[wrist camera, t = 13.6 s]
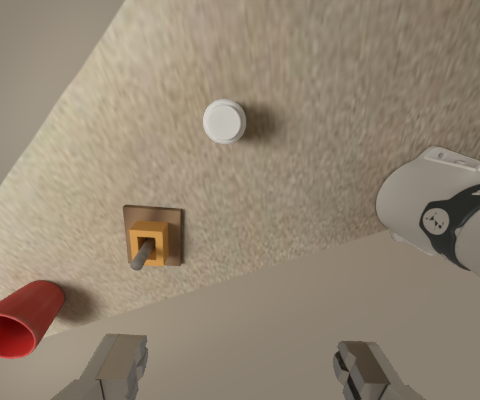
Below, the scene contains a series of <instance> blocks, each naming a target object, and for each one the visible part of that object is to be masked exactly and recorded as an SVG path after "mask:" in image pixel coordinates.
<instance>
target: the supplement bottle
mask: <svg viewBox="0 0 480 400" xmlns="http://www.w3.org/2000/svg"><path fill="white" fill-rule="evenodd" d="M203 126H204V129H205V132H206V134H207V135H208V136H209V138H210V139H212V140H213V141H214V142H216V143H219V144H223V145H227V144H232V143H234V142H236V141H238V140H239V139H240V138H241V137H242V135H243V133H244V131H245V128H246V116H245V113H244V111H243V109H242V108H241V106H240V105H239V104H237V103H236V102H234V101H232V100H229V99H219V100H216V101H214V102H213V103H211V104H210V105H209V106H208V107H207V109H206V111H205V113H204V117H203Z"/></svg>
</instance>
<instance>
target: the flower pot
mask: <svg viewBox="0 0 480 400" xmlns="http://www.w3.org/2000/svg"><path fill="white" fill-rule="evenodd" d="M64 300H65V298H64V293H63V291H62V290H61V289H60V288H59V287H58V286H57V285H55V284H53V283H51V282H47V281H34V282H31V283H29V284H27V285H26V286H24V287H22V288H21V289H19V290H17V291H16V292H14V293H12V294H11V295H9V296H8V297H6V298H4V299H3V300H1V301H0V357H1V358H8V359H14V358H21V357H24V356H27V355H29V354H30V353H31V352H33V350H34V349H35V348H36V347H37V345H38V344H39V342H40V341H41V339H42V338H43V336H44V335H45V333H46V331H47V330H48V328H49V326H50V325H51V323H52V322H53V320H54V318H55V317H56V315H57V313H58V312H59V310H60V308H61V307H62V305H63V303H64Z"/></svg>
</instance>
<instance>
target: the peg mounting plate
mask: <svg viewBox="0 0 480 400" xmlns="http://www.w3.org/2000/svg"><path fill="white" fill-rule="evenodd" d="M123 214H124V224H125V234H126V244H127V254H128V263H131V264H130V266H131V268H132V269H133V270H140V269H142V267H143V265H144V263H145V262H146V260H147V258H148V256H149V255H150V253H151V251H152V250H153V248H154V249H156V240H155V238H152V237H145V238H146V241H145V243H144V244H143V246H142V247H141V249H140V250H139V252H138V253H137V255H136V256H135V257H134V259H133V260H132V253H131V243H130V233H129V230H130V228H131V227H132V226H133V225H134V224H135V223H136V222H137V220H139V221H154V222H168V246H169V255H168V257H167V260H166V262H165V264H164V265H170V266H180V265H181V209H176V208H162V207H148V206H134V205H125V206H123Z"/></svg>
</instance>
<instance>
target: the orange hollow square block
mask: <svg viewBox="0 0 480 400" xmlns="http://www.w3.org/2000/svg"><path fill="white" fill-rule="evenodd" d="M129 233H130V243H131V253H132V260H133V259H134V257H135V256H136V255H137V253H138V252H139V250H140V249H141V247H142V246H143V244H144V243H145V241H146V238H145V237H152V238H155V240H156V249H154V248H153V250H152V251H151V253H150V255H149V256H148V258H147V260H146V262H145V263H144V265H151V266H164V264H165V262H166V260H167V257H168V255H169V246H168V222H154V221H139V220H137V222H136V223H135V224H134V225H133V226H132V227H131V228H130V230H129Z"/></svg>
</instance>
